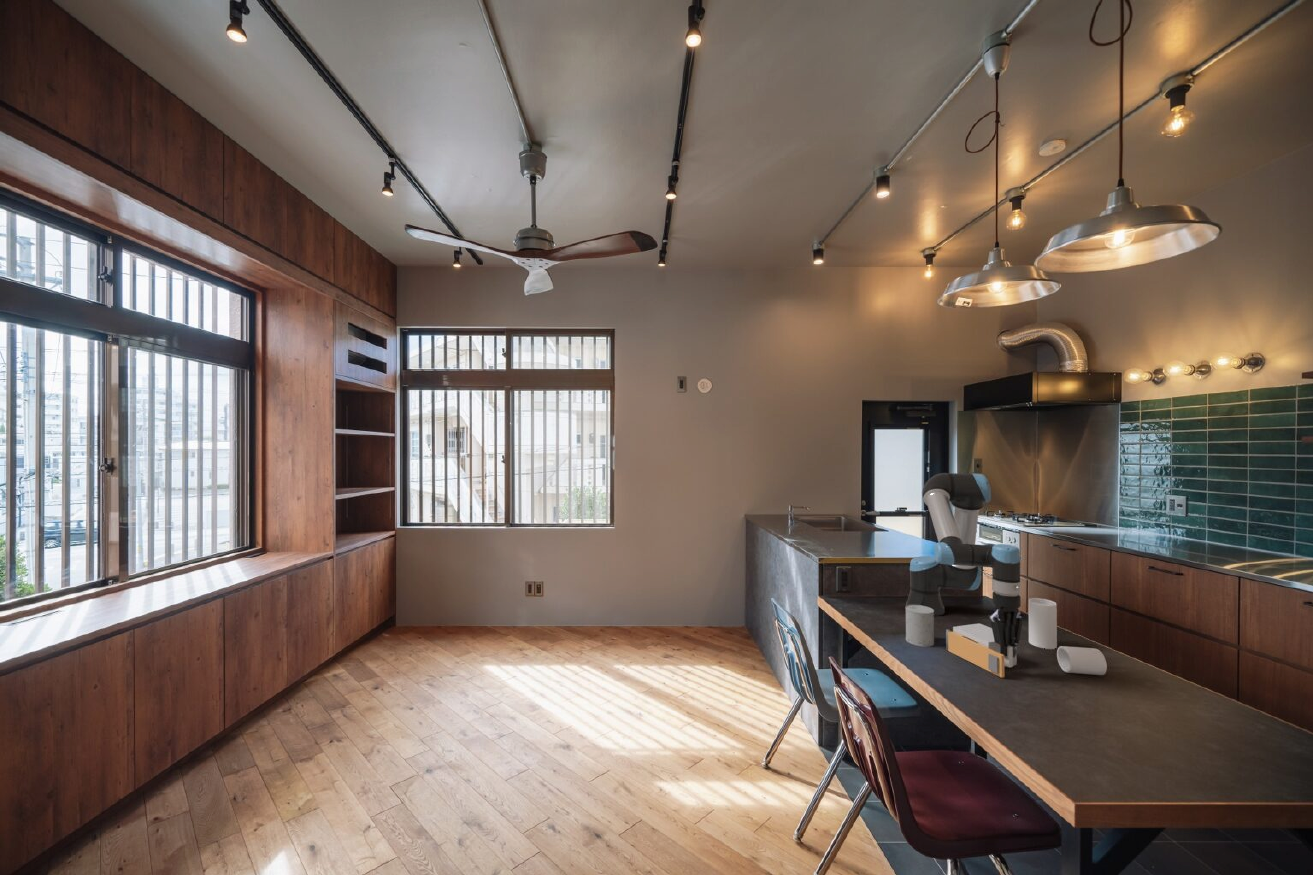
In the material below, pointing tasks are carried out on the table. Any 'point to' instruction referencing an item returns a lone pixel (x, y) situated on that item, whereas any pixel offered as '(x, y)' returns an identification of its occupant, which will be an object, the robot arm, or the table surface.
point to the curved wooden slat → (975, 653)
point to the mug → (1081, 660)
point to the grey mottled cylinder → (920, 625)
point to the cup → (1043, 623)
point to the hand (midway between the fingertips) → (1007, 665)
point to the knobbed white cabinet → (982, 637)
